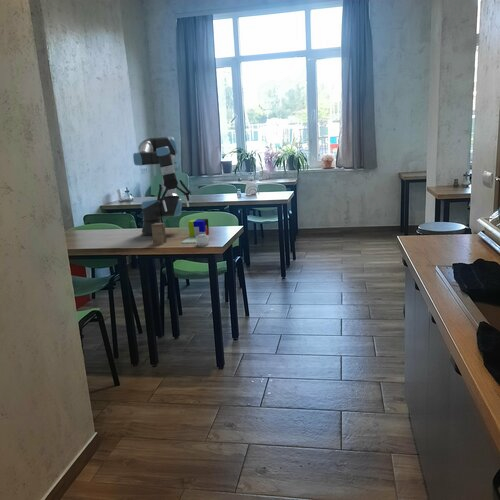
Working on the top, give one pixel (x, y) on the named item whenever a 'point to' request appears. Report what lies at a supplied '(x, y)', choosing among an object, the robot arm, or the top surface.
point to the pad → (191, 240)
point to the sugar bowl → (202, 240)
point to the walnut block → (158, 233)
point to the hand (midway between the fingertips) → (177, 208)
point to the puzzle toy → (198, 227)
